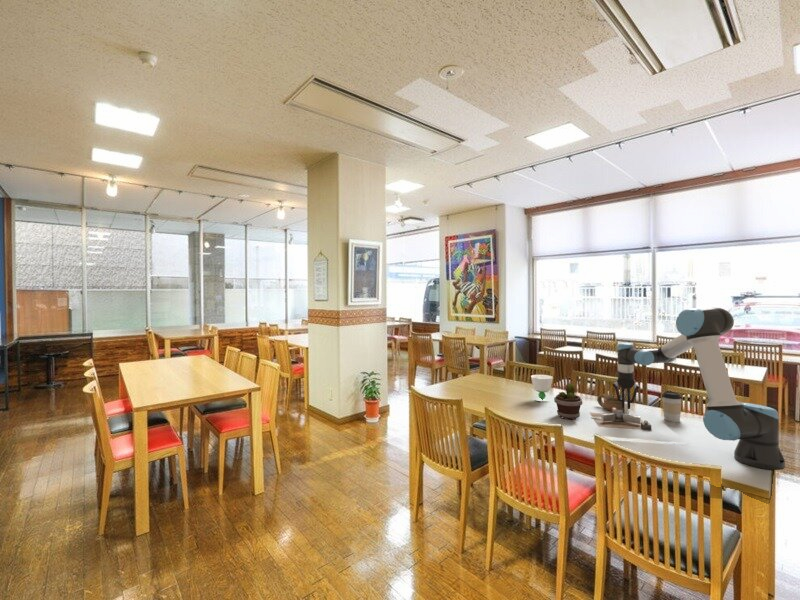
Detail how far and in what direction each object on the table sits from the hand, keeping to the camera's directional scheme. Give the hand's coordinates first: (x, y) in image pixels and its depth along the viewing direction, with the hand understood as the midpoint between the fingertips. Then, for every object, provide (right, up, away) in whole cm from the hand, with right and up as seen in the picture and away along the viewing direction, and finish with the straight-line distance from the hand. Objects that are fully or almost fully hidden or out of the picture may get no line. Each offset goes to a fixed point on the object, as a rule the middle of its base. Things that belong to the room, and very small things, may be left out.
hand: (626, 414), depth 207 cm
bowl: (+2, -3, +17) cm, 17 cm away
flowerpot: (-28, -4, +8) cm, 30 cm away
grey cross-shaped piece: (-6, -2, -3) cm, 7 cm away
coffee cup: (+25, -3, -1) cm, 25 cm away
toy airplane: (-7, -3, -5) cm, 9 cm away
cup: (-30, -4, +42) cm, 52 cm away
